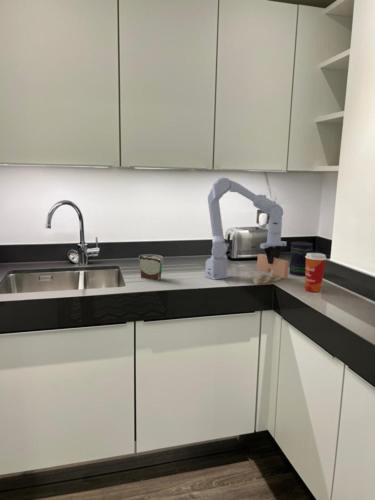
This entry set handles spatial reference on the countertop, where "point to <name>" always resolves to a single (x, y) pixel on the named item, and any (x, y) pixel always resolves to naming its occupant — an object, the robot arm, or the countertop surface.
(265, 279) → the birch slotted plate
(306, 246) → the storage jar
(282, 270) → the terracotta slotted plate
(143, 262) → the food container
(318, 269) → the coffee cup
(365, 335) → the countertop surface
